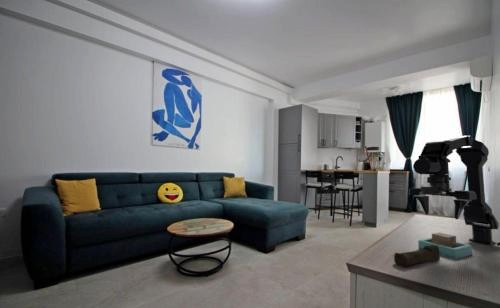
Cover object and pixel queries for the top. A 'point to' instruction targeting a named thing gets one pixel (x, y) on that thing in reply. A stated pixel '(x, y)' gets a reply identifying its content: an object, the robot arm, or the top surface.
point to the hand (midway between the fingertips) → (441, 216)
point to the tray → (448, 249)
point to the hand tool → (417, 256)
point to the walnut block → (444, 240)
